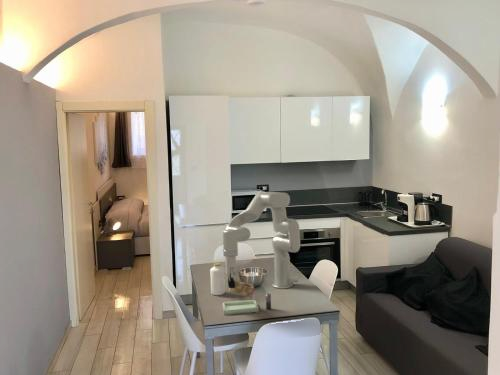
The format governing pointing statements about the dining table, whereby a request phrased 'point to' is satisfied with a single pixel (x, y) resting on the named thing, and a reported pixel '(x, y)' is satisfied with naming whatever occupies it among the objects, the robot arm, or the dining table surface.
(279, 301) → the dining table surface
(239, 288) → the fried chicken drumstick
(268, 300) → the steel stake
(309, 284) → the dining table surface
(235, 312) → the sage tray
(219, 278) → the potion bottle
